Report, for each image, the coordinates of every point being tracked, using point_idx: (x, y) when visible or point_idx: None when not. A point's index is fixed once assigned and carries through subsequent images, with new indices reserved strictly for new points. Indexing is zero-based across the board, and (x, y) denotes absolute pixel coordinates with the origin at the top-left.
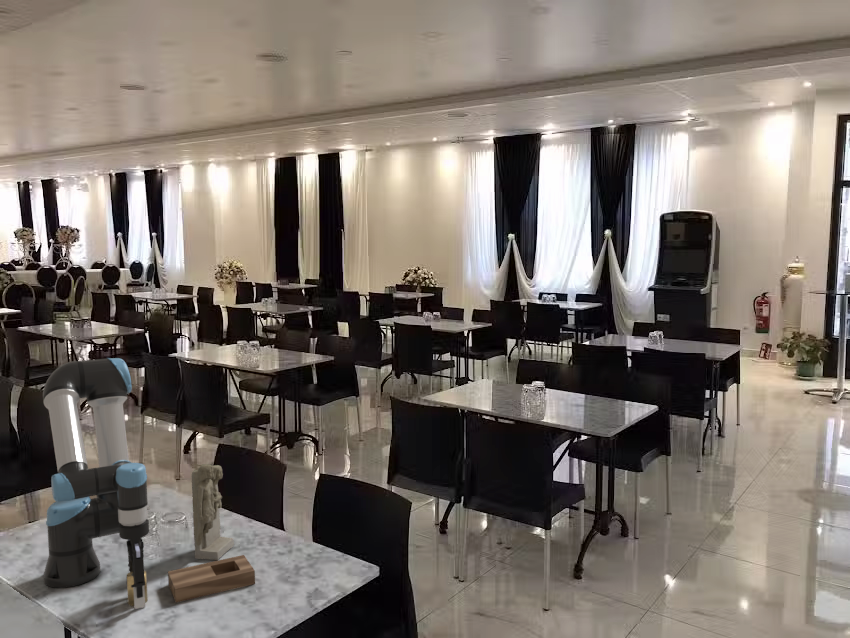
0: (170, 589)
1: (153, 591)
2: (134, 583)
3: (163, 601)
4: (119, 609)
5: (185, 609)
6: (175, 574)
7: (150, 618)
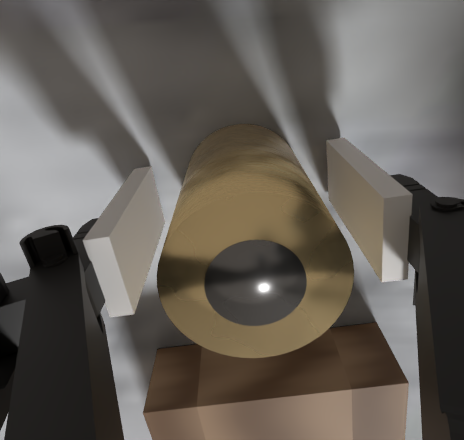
0: None
1: None
2: (30, 274)
3: None
4: (177, 71)
5: None
6: (339, 415)
7: (19, 247)
